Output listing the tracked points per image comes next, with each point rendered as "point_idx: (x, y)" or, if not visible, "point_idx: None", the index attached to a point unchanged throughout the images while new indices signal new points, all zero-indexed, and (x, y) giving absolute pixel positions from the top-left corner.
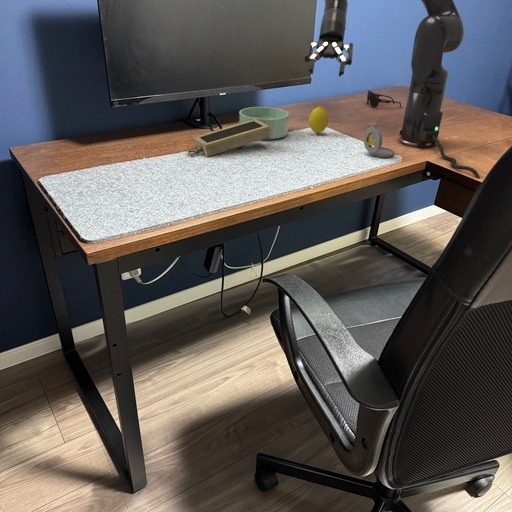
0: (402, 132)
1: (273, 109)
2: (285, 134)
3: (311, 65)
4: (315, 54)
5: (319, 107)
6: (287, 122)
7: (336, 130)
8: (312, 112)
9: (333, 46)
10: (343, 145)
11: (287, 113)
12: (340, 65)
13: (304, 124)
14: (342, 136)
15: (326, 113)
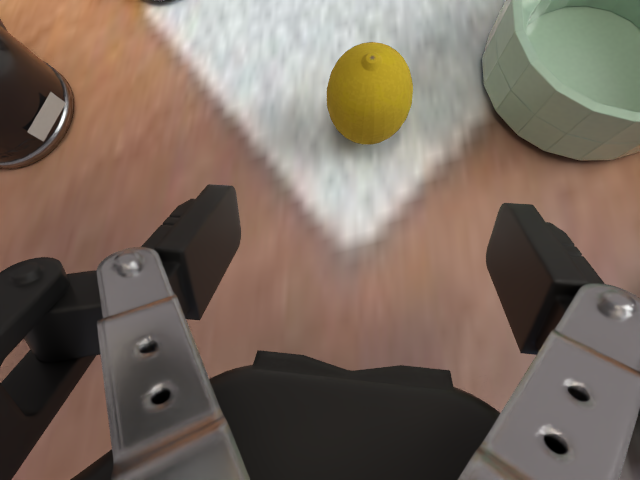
0: (46, 81)
1: (610, 109)
2: (488, 37)
3: (547, 229)
4: (593, 344)
5: (374, 52)
6: (502, 14)
7: (289, 195)
8: (404, 61)
9: (237, 447)
10: (274, 24)
11: (523, 32)
12: (200, 221)
13: (426, 251)
14: (270, 122)
15: (337, 62)
